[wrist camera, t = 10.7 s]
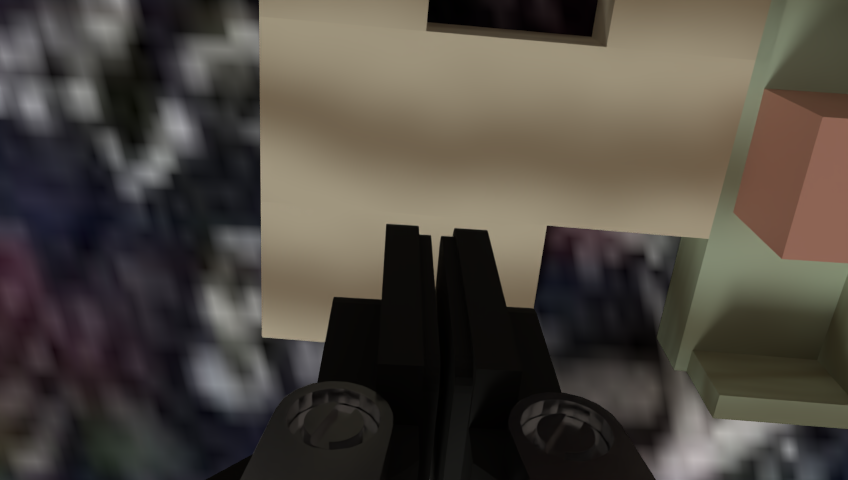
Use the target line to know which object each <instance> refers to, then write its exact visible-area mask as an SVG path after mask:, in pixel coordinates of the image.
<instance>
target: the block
mask: <svg viewBox="0 0 848 480" xmlns="http://www.w3.org/2000/svg"><path fill="white" fill-rule="evenodd" d="M733 213H734V214H735V215H736V216H737V217H738V218H739V219H740V220H741V221H742V222H744V223H745V224H746V225H747V226H748V227H749V228H750V229H751V230H752V231H753V232H754V233H755V234H756V235H757V236H758V237H759V238H760V239H761V240H762V241H763V242H764V243H765V244H767V245H768V246H769V247H770V248H771V249H772V250H773V251H774V252H775V253H776V254H777V255H778V256H779V257H780V258H781V259H788V260H804V261H819V262H835V263H848V94H839V93H824V92H809V91H794V90H779V89H764V92H763V96H762V100H761V104H760V108H759V112H758V116H757V120H756V124H755V128H754V132H753V136H752V139H751V143H750V147H749V151H748V155H747V159H746V163H745V167H744V171H743V175H742V179H741V183H740V187H739V191H738V195H737V199H736V203H735V207H734V211H733Z"/></svg>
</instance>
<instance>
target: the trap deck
mask: <svg viewBox="0 0 848 480" xmlns="http://www.w3.org/2000/svg"><path fill="white" fill-rule="evenodd" d="M428 6H429V0H259V30H260V152H261V274H262V337H267V338H279V339H292V340H304V341H317V342H325V339H326V334H327V329H328V323H329V318H330V312H331V307H332V302H333V298H334V297H348V298H365V299H382V283H383V267H384V251H385V235H386V224H398V225H414V226H419V234H420V235H431V239H432V252H433V266H434V279H435V287H436V277H437V267H438V256H439V246H440V239H441V236H453V231H454V228H461V229H477V230H487V231H488V234H489V238H490V242H491V246H492V250H493V254H494V258H495V262H496V266H497V270H498V274H499V278H500V282H501V286H502V290H503V294H504V298H505V302H506V306H507V307H522V308H534V302H535V296H536V289H537V283H538V277H539V271H540V265H541V259H542V253H543V247H544V241H545V234H546V228H547V225H548V226H560V227H572V228H584V229H596V230H607V231H619V232H631V233H643V234H655V235H667V236H679V237H681V241H680V245H679V249H678V253H677V257H676V261H675V265H674V269H673V273H672V277H671V281H670V285H669V289H668V293H667V298H666V302H665V306H664V310H663V314H662V318H661V322H660V326H659V330H658V334H657V339H658V341H659V343H660V345H661V347H662V349H663V350H664V352H665V354H666V356H667V358H668V360H669V362H670V363H671V365H672V367H673V369H674V370H677V371H687V373H688V375H689V377H690V378H691V380H692V382H693V384H694V385H695V387H696V389H697V391H698V393H699V394H700V396H701V398H702V400H703V401H704V403H705V405H706V407H707V409H708V410H709V412H710V414H711V416H712V417H713V418H718V419H731V420H743V421H756V422H769V423H781V424H794V425H807V426H819V427H832V428H844V429H848V263H835V262H819V261H804V260H788V259H781V258H780V257H779V256H778V255H777V254H776V253H775V252H774V251H773V250H772V249H771V248H770V247H769V246H768V245H767V244H765V243H764V242H763V241H762V240H761V239H760V238H759V237H758V236H757V235H756V234H755V233H754V232H753V231H752V230H751V229H750V228H749V227H748V226H747V225H746V224H745V223H744V222H742V221H741V220H740V219H739V218H738V217H737V216H736V215H735V214H734V213H733V211H734V207H735V203H736V199H737V195H738V191H739V187H740V183H741V179H742V175H743V171H744V167H745V163H746V159H747V155H748V151H749V147H750V143H751V139H752V136H753V132H754V128H755V124H756V120H757V116H758V112H759V108H760V104H761V100H762V96H763V92H764V89H779V90H794V91H809V92H824V93H839V94H848V0H598V3H597V9H596V14H595V20H594V26H593V32H592V37H589V36H578V35H566V34H555V33H544V32H532V31H521V30H510V29H498V28H487V27H476V26H464V25H453V24H442V23H430V22H427V18H428Z"/></svg>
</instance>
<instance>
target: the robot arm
mask: <svg viewBox="0 0 848 480" xmlns="http://www.w3.org/2000/svg"><path fill="white" fill-rule="evenodd" d="M429 479H430V480H656V479H655V478H654V476H653V475H652V473H651V471H650V470H649V468H648V467H647V465H646V464H645V462H644V460H643V459H642V457H641V456H640V454H639V452H638V451H637V449H636V448H635V446H634V444H633V443H632V441H631V440H630V438H629V436H628V435H627V433H626V432H625V430H624V429H623V427H622V425H621V424H620V423H619V422H618V421H617V420H616V418H615V417H614V416H613V415H612V414H611V413H610V412H608V411H607V410H605V409H604V408H602V407H601V406H600V405H598V404H596V403H594V402H592V401H589V400H587V399H585V398H583V397H579V396H575V395H571V394H567V393H561V390H560V386H559V383H558V380H557V377H556V374H555V371H554V367H553V364H552V361H551V358H550V355H549V352H548V348H547V345H546V342H545V339H544V336H543V333H542V330H541V326H540V323H539V320H538V317H537V314H536V312H535V310H534V309H533V308H522V307H507V306H506V302H505V298H504V294H503V290H502V286H501V282H500V278H499V274H498V270H497V266H496V262H495V258H494V254H493V250H492V246H491V242H490V238H489V234H488V231H487V230H477V229H461V228H454V231H453V236H441V239H440V246H439V256H438V267H437V277H436V287H435V279H434V266H433V252H432V239H431V235H420V234H419V226H414V225H398V224H386V235H385V251H384V267H383V283H382V299H365V298H348V297H334V298H333V302H332V307H331V312H330V318H329V323H328V329H327V334H326V339H325V345H324V350H323V356H322V361H321V366H320V372H319V377H318V383H313V384H310V385H307V386H304V387H302V388H299V389H297V390H295V391H294V392H292V393H291V394H289V395H288V396H286V397H285V398H284V399H283V400H282V401H281V403H280V404H279V405H278V406H277V408H276V409H275V411H274V413H273V415H272V417H271V419H270V421H269V423H268V425H267V427H266V429H265V431H264V433H263V435H262V437H261V439H260V441H259V443H258V445H257V447H256V449H255V451H254V453H253V454H252V455H251V456H249V457H247V458H245V459H243V460H241V461H240V462H238V463H236V464H234V465H232V466H230V467H228V468H227V469H225V470H223V471H221V472H219V473H217V474H215V475H214V476H212V477H210V478H208V479H206V480H429Z"/></svg>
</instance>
